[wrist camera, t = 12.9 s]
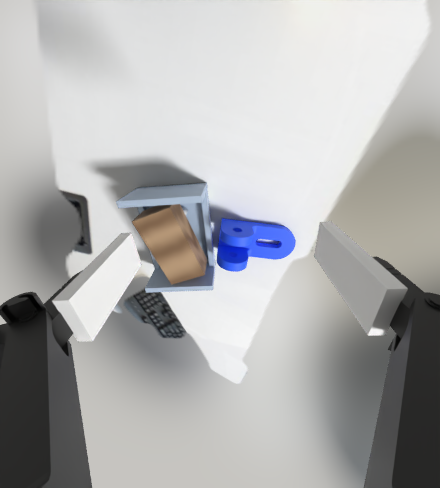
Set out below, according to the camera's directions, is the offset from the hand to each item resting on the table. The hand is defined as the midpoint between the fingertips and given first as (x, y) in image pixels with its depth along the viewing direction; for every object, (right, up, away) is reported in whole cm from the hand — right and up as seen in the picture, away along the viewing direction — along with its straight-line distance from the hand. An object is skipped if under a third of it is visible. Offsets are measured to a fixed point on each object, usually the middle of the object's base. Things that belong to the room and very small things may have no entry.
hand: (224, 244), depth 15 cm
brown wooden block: (-10, +2, +31) cm, 33 cm away
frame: (-10, +4, +35) cm, 36 cm away
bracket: (+9, +2, +36) cm, 37 cm away
